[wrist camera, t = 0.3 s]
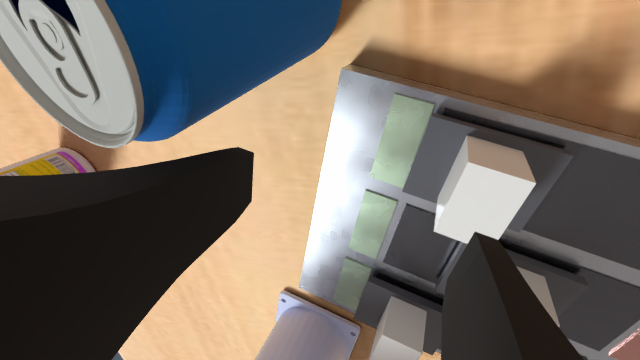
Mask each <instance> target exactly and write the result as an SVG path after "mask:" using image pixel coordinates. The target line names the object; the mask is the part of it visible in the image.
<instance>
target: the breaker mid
mask: <svg viewBox="0 0 640 360" xmlns="http://www.w3.org/2000/svg"><path fill="white" fill-rule="evenodd" d="M466 246H467V244H466V243H463V242H461V241H460V243H459V245H458V246H457V248H456V250H455V252H454V253H453V255H452V257H451V258H450V260H449V262H448V264H447V265H446V267H445V269H444V271H443V272H442V274H441V276H440V277H439V279H438V281H437V283H436V287H435V291H436V292H438V293H441V294H443V295H444V294H445V288H446V282H447V278H448V277H449V275H450V273H451V272H452V270H453V268H454V266H455V265H456V263H457V261H458V260H459V258H460V256H461V254H462V253H463V251H464V249H465V248H466ZM504 249H505V248H504ZM505 250H506V252H507V253H508V255H509V256H510V258H511V259H512V261H513V262H514V264H515V265H516V267H517V268H518V270H519V271H520V273H521V274H522V276H523V277H524V279H525V280H526V282H527V283H528V285H529V286H530V288H531V289H532V291H533V292H534V294H535V295H536V296H537V298H538V299H539V301H540V302H541V304H542V305H543V306H544V308H545V309H546V311H547V312H548V313H549V315H550V316H551V317H552V319H553V320H554V322H555V323H556V324H557V326H558V327H559V326H560V324H559V321H558V318H557V317H558V316H559V315H560V314H561V313H562V312H563V311H564V310H565V309H566V308H567V307H568V306H569V305H570V304H571V303H572V302H573V301H575V300H576V299H577V298H578V297H579V296H580V295H581V294H582V293H583V292H584V291H585V290H586V289H587V288H588V287H589V286H588V284H587V281H586V279H585V278H584V277H581V276H579V275H576V274H573V273H570V272H568V271H565V270H562V269H559V268H557V267H554V266H551V265H549V264H546V263H543V262H540V261H538V260H535V259H532V258H529V257H527V256H524V255H521V254H518V253H516V252H513V251H510V250H508V249H505Z"/></svg>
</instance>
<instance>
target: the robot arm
mask: <svg viewBox="0 0 640 360" xmlns="http://www.w3.org/2000/svg"><path fill="white" fill-rule="evenodd" d="M253 158H254V153H253V152H250V151H247V150H245V149H242V148H239V147H237V148H229V149H223V150H218V151H213V152H208V153H204V154H199V155H194V156H190V157H185V158H181V159H176V160H171V161H165V162H160V163H154V164H149V165H144V166H138V167H131V168H124V169H116V170H107V171H99V172H88V173H71V174H55V175H27V176H0V360H112V358H113V357H114V356H115V354H116V353H117V352H118V351H119V349H120V348H121V347H122V345H123V344H124V343H125V341H126V340H127V339H128V337H129V336H130V335H131V333H132V332H133V331H134V330H135V328H136V327H137V326H138V325H139V323H140V322H141V321H142V320H143V318H144V317H145V316H146V315H147V314H148V312H149V311H150V310H151V309H152V307H153V306H154V305H155V304H156V302H157V301H158V300H159V299H160V298H161V297H162V295H163V294H164V293H165V292H166V291H167V290H168V288H169V287H170V286H171V285H172V284H173V283H174V282H175V280H176V279H177V278H178V277H179V276H180V275H181V274H182V273H183V272H184V271H185V270H186V269H187V268H188V267H189V266H190V265H191V264H192V263H193V262H194V261H195V260H196V259H197V258H198V257H199V256H200V255H201V254H202V253H204V252H205V251H206V250H207V249H208V248H209V247H210V246H211V245H212V244H213V243H214V242H215V241H216V240H217V239H218V238H219V237H220V236H221V235H222V234H223V233H225V232H226V231H227V230H228V229H229V228H230V227H231V226H232V225H233V224H234V223H235V222H236V220H237V219H238V218H239V217H240V215H241V214H242V213H243V212H244V210H245V209H246V208H247V206H248V205H249V204H250V202H251V200H252V179H253ZM360 330H361V328H360V327H359V326H358V325H357V324H355V323H353V322H351V321H349V320H346V319H344V318H342V317H340V316H338V315H336V314H334V313H332V312H329V311H327V310H325V309H323V308H321V307H319V306H317V305H315V304H313V303H310V302H308V301H306V300H304V299H302V298H300V297H298V296H296V295H293V294H291V293H289V292H287V291H282V292H281V293H280V296H279V303H278V310H277V317H276V324H275V326H274V328H273V329H272V331H271V333H270V334H269V336H268V338H267V340H266V341H265V343H264V345H263V346H262V348H261V350H260V352H259V353H258V355H257V357H256V358H255V360H349V357H350V355H351V352H352V350H353V348H354V345H355V343H356V341H357V338H358V336H359V333H360ZM441 360H584V359H583V358H582V357H581V355H580V354H579V353H578V352H577V350H576V349H575V348H574V346H573V345H572V344H571V343H570V341H569V340H568V339H567V337H566V336H565V335H564V333H563V332H562V331H561V329H560V328H559V327H558V326H557V324H556V323H555V322H554V320H553V319H552V317H551V316H550V315H549V313H548V312H547V311H546V309H545V308H544V306H543V305H542V304H541V302H540V301H539V299H538V298H537V296H536V295H535V294H534V292H533V291H532V289H531V288H530V286H529V285H528V283H527V282H526V280H525V279H524V277H523V276H522V274H521V273H520V271H519V270H518V268H517V267H516V265H515V264H514V262H513V261H512V259H511V258H510V256H509V255H508V253H507V252H506V250H505V249H504V247H503V246H502V245H501V243H500V242H499V240H497V239H495V238H492V237H489V236H486V235H483V234H481V233H478V232H474V234H473V236H472V237H471V239H470V241H469V242H468V244H467V246H466V248H465V249H464V251H463V253H462V254H461V256H460V258H459V260H458V261H457V263H456V265H455V266H454V268H453V270H452V272H451V273H450V275H449V277H448V278H447V282H446V288H445V294H444V301H443V308H442V335H441Z"/></svg>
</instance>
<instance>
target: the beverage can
mask: <svg viewBox="0 0 640 360" xmlns="http://www.w3.org/2000/svg"><path fill="white" fill-rule="evenodd" d="M341 3H342V0H0V61H1V62H2V63H3V65H4V66H5V67H6V68H7V70H8V71H9V72H10V73H11V75H12V76H13V77H14V78H15V80H16V81H17V82H18V83H19V84H20V85H21V87H22V88H23V89H24V90H25V91H26V92H27V93H28V94H29V95H30V96H31V97H32V99H33V100H34V101H35V102H36V103H37V104H38V105H39V106H40V107H41V108H43V109H44V110H45V111H46V112H47V113H48V114H49V115H50V116H51V117H52V118H54V119H55V120H56V121H57V122H59V123H60V124H61V125H62V126H64V127H65V128H66V129H68V130H69V131H71V132H72V133H73V134H75V135H77V136H78V137H80V138H82V139H84V140H86V141H88V142H90V143H92V144H95V145H98V146H101V147H105V148H118V147H122V146H124V145H126V144H128V143H130V142H131V141H133V140H135V141H147V142H151V141H159V140H164V139H168V138H170V137H172V136H174V135H176V134H178V133H179V132H181V131H183V130H184V129H186V128H188V127H189V126H191V125H193V124H194V123H196V122H198V121H199V120H201V119H203V118H205V117H206V116H208V115H210V114H211V113H213V112H215V111H216V110H218V109H220V108H221V107H223V106H225V105H226V104H228V103H230V102H231V101H233V100H235V99H237V98H238V97H240V96H242V95H243V94H245V93H247V92H248V91H250V90H252V89H253V88H255V87H257V86H258V85H260V84H262V83H263V82H265V81H267V80H269V79H270V78H272V77H274V76H275V75H277V74H279V73H280V72H282V71H284V70H285V69H287V68H289V67H290V66H292V65H294V64H295V63H297V62H299V61H300V60H302V59H304V58H306V57H307V56H309V55H311V54H312V53H314V52H315V51H317V50H318V49H319V48H320V47H322V46H323V45H324V44H325V42H326V41H327V40H328V38H329V37H330V35H331V34H332V32H333V30H334V28H335V26H336V23H337V21H338V17H339V14H340V9H341Z"/></svg>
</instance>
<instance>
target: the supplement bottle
mask: <svg viewBox="0 0 640 360" xmlns="http://www.w3.org/2000/svg"><path fill="white" fill-rule="evenodd" d="M88 172H96V171H95V169H94V168H93V166H92V165H91V164H90V163H89V162H88V161H87V160H86V159H85V158H84V157H83V156H82V155H80V154H79V153H77V152H76V151H74V150H71V149H68V148H57V149H54V150H51V151H48V152H46V153H43V154H40V155H37V156H34V157H31V158H29V159H26V160H23V161H20V162H17V163H15V164H12V165H9V166H6V167H3V168H1V169H0V176H27V175H55V174H71V173H88Z"/></svg>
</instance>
